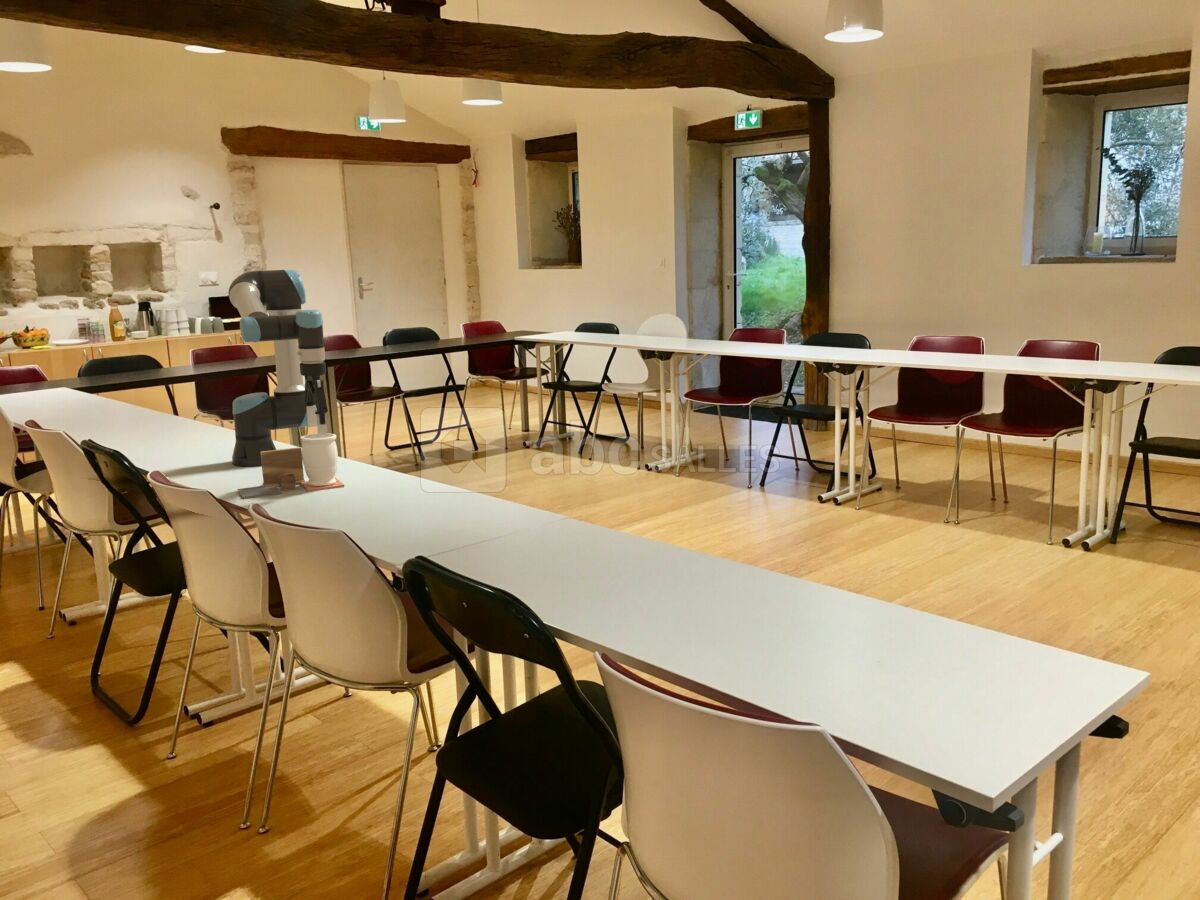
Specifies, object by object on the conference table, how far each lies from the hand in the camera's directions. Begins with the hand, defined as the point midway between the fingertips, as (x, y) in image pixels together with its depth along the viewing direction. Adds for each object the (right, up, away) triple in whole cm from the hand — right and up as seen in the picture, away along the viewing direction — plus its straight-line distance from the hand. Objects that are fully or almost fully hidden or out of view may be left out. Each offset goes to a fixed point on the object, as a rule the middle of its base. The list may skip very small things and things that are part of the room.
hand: (317, 430), depth 305 cm
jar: (0, -16, +3) cm, 17 cm away
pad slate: (-17, -19, -4) cm, 25 cm away
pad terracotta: (+1, -17, +3) cm, 17 cm away
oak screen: (-12, -17, +6) cm, 21 cm away
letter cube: (-9, -18, 0) cm, 20 cm away
